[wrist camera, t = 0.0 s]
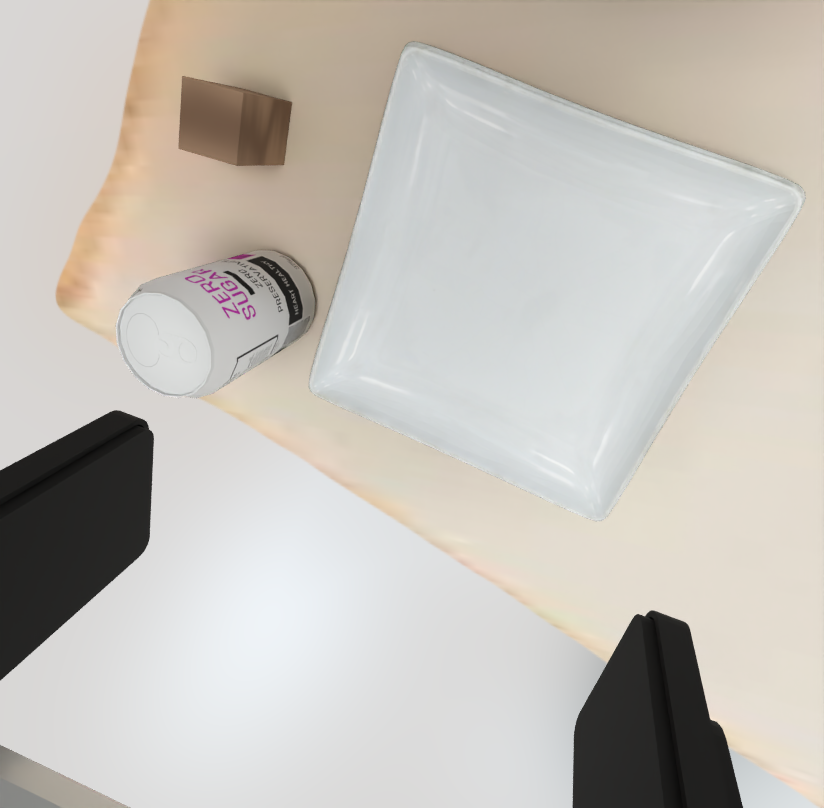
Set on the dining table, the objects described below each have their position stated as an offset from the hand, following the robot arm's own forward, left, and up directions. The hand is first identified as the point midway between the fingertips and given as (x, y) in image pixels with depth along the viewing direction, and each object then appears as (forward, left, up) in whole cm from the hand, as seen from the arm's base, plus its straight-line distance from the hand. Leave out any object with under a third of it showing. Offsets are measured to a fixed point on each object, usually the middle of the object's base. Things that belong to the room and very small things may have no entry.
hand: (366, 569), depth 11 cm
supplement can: (+9, -20, -37) cm, 43 cm away
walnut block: (-4, -23, -37) cm, 44 cm away
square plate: (+3, 0, -37) cm, 38 cm away
